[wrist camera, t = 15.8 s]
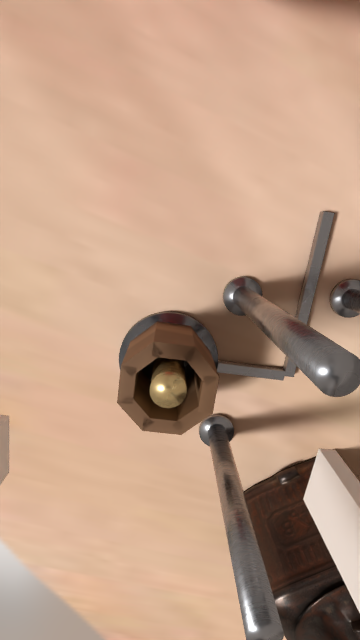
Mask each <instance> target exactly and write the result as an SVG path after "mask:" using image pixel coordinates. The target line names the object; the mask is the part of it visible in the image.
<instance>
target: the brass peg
mask: <svg viewBox="0 0 360 640" xmlns="http://www.w3.org/2000/svg"><path fill="white" fill-rule="evenodd" d="M156 322H165V323H172V324H180V325H188V326H191V327H192V328H193V330H194V331H195V332H196V334H197V335H198V336H199V337H200V339H201V340H202V341H203V343H204V344H205V345H206V346H207V348H208V349H209V350H210V352H211V355H212V358H213V361H214V364H215V366H216V369H217V366H218V353H217V348H216V345H215V342H214V340H213V338H212V336H211V334H210V333H209V331H208V330H207V329H206V328H205V326H204V325H202V324H201V323H200V322H199V321H197V320H196V319H194V318H192V317H190V316H188V315H186V314H183V313H178V312H159V313H155V314H152V315H149V316H147V317H145V318H143V319H141V320H140V321H138V322H137V323H136V324H135V325H134V326H133V327H132V328H131V329H130V330H129V332H128V333H127V335H126V336H125V338H124V340H123V342H122V345H121V348H120V353H119V366H120V370H121V364H122V362H123V359H124V357H125V354H126V352H127V349H128V347H129V344H130V341H132V340H133V339H134V338H136V337H137V336H138V335H140V334H141V333H142V332H144V331H145V330H146V329H148V328H149V327H150V326H152V325H153V324H154V323H156ZM141 370H142V372H143V373H144V374H145V375H146V376H147V377H148V379H149V380H150V381H151V384H150V396H151V399H152V400H153V402H154V403H155V404H157V405H158V406H160V407H163V408H173V407H176V406H178V405H179V404H181V403H182V402H183V401H184V399H185V397H186V394H187V388H186V380H187V379H189V378H190V377H192V376H193V375H194V369H193V368H192V367H191V366H190V364H189V363H188V362H187V361H185V360H177V359H169V358H161V357H158V358H156V359H155V360H154V361H152V362H151V363H150V364H148V365H147V366H145V367H144V368H143V369H141Z"/></svg>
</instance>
